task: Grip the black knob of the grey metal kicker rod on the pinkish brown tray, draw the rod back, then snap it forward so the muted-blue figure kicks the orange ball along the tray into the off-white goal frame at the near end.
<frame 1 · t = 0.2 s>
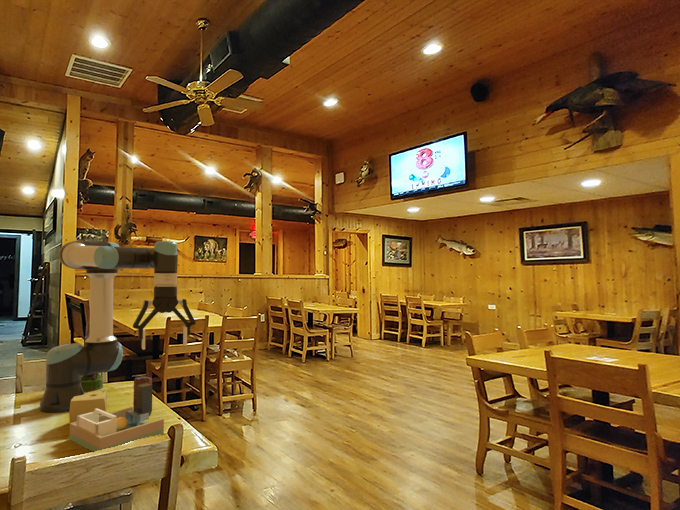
hand: (164, 347, 153), 27 cm above the table, fingers open, 13 cm apart
ball: (120, 423, 142), point 4 cm above the table, touching pinkish brown tray
pinkish brown tray: (117, 437, 141), on the table
kicker: (140, 404, 147), point 9 cm above the table, slide at 0.0 cm
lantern: (89, 388, 196), on the table
goal: (96, 443, 136), resting on pinkish brown tray
can: (142, 415, 162), on the table
cheese: (89, 425, 152), on the table
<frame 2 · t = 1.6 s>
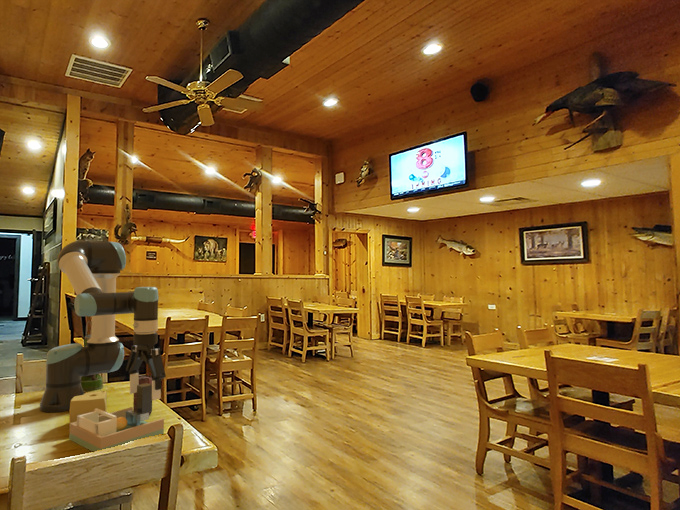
hand: (144, 396, 148), 11 cm above the table, fingers open, 13 cm apart
nothing on the table moved.
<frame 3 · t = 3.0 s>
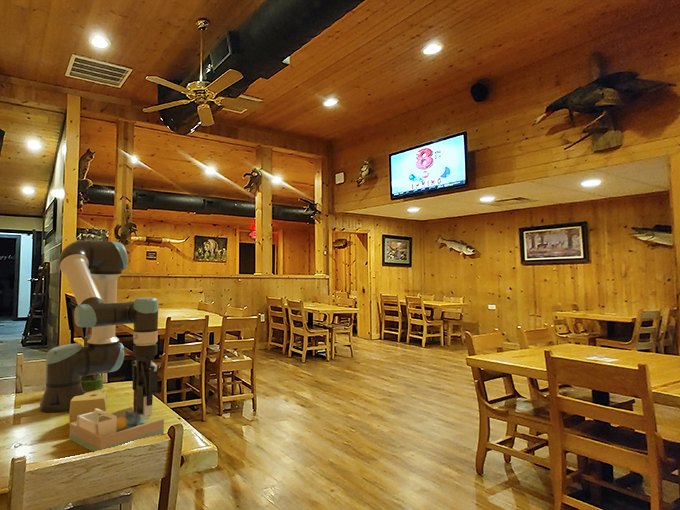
hand: (144, 413, 148), 5 cm above the table, fingers closed on kicker, 3 cm apart
kicker: (140, 404, 147), point 9 cm above the table, slide at 0.0 cm, touching gripper
everything else where it was.
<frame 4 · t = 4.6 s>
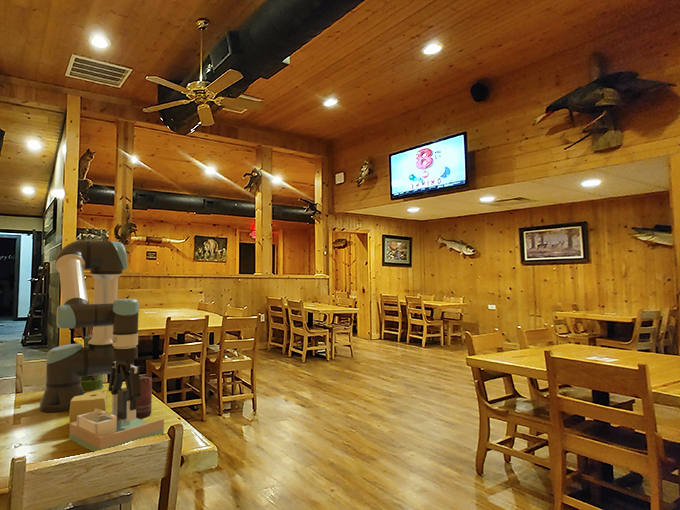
hand: (123, 416, 143), 6 cm above the table, fingers open, 8 cm apart
ball: (96, 430, 136), point 4 cm above the table, tilted 145°, touching pinkish brown tray
kicker: (121, 409, 142), point 9 cm above the table, slide at 6.5 cm
everything else where it was.
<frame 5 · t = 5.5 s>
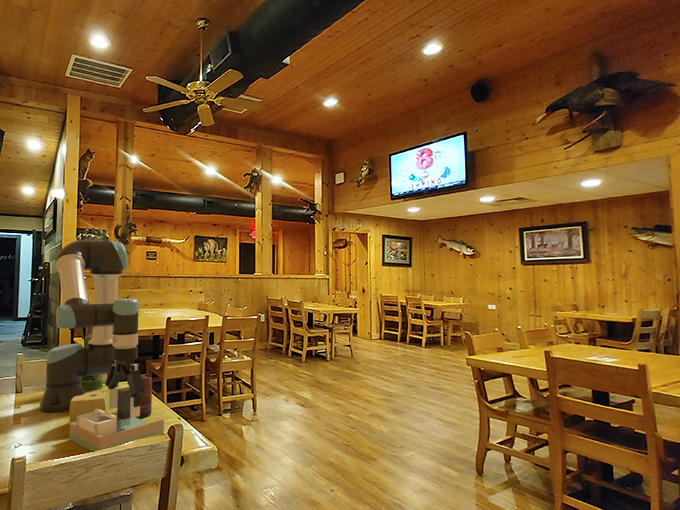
hand: (123, 412, 143), 7 cm above the table, fingers open, 13 cm apart
ball: (100, 429, 137), point 4 cm above the table, tilted 112°, touching pinkish brown tray
everything else where it was.
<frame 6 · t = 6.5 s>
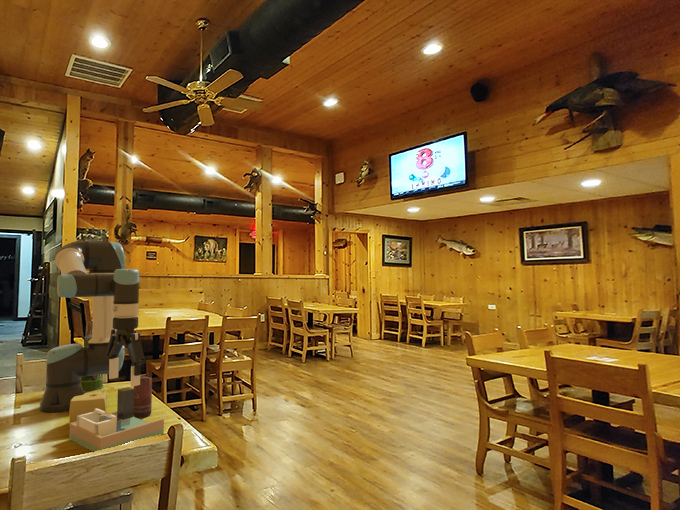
hand: (124, 381, 143), 17 cm above the table, fingers open, 13 cm apart
ball: (104, 428, 138), point 4 cm above the table, tilted 78°, touching pinkish brown tray
everything else where it was.
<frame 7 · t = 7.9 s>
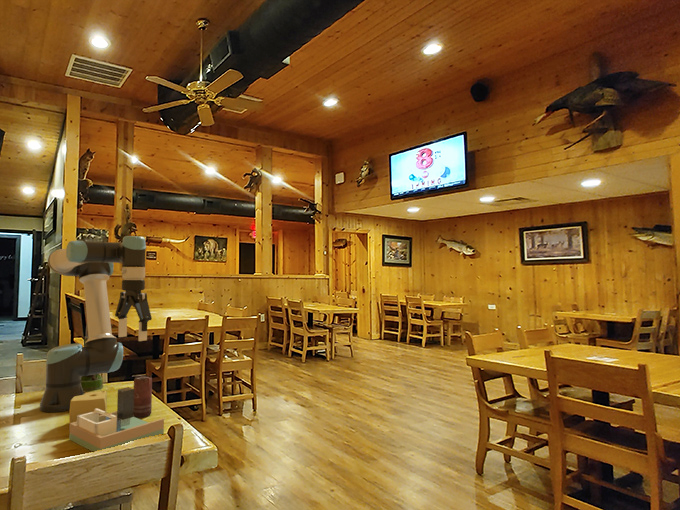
hand: (132, 338, 158), 29 cm above the table, fingers open, 13 cm apart
nothing on the table moved.
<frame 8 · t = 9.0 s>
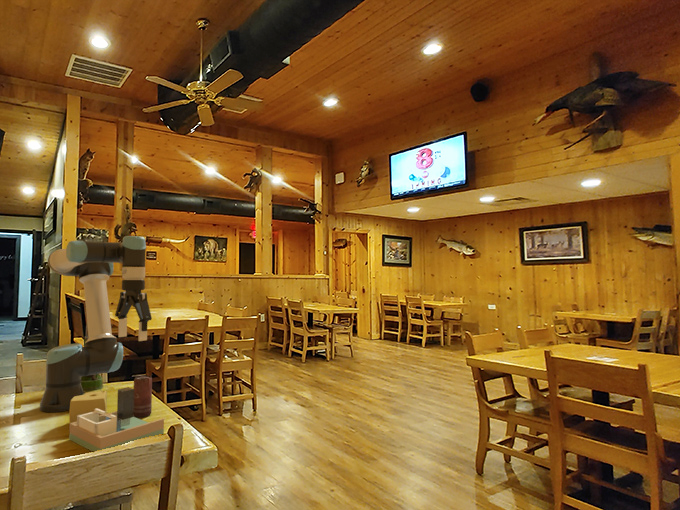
hand: (132, 338, 158), 29 cm above the table, fingers open, 13 cm apart
nothing on the table moved.
at the end: ball inside the target area (2.4 cm from its centre), point 4.0 cm above the table; kicker slide at 6.5 cm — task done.
